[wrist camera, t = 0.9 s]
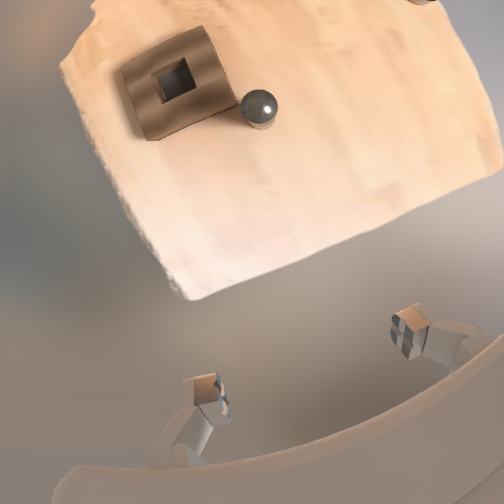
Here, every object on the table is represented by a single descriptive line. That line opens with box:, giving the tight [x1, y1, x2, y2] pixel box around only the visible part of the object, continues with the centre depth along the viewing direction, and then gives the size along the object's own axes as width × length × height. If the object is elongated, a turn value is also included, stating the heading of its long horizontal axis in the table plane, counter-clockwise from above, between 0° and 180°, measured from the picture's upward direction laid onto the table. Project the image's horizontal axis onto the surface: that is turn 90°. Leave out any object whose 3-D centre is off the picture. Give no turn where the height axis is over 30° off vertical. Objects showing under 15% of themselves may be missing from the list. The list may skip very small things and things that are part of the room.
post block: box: [121, 25, 238, 141], centre depth 39 cm, size 16×16×5 cm
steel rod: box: [240, 90, 278, 129], centre depth 37 cm, size 5×5×14 cm
